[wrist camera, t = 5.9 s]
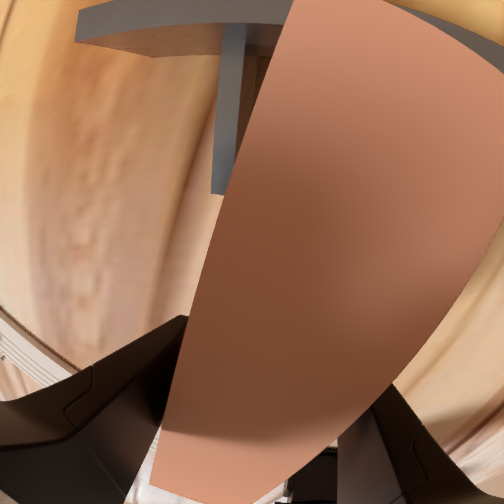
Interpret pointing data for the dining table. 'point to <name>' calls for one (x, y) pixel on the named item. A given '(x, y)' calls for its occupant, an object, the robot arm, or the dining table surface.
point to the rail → (332, 243)
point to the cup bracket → (222, 50)
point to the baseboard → (37, 359)
